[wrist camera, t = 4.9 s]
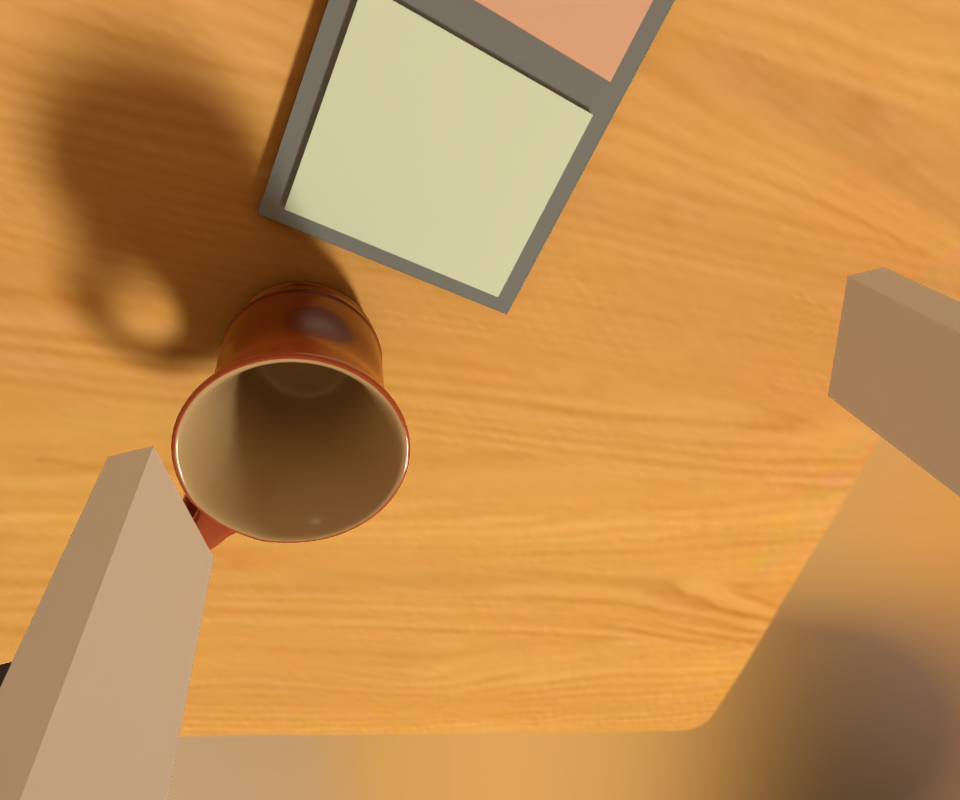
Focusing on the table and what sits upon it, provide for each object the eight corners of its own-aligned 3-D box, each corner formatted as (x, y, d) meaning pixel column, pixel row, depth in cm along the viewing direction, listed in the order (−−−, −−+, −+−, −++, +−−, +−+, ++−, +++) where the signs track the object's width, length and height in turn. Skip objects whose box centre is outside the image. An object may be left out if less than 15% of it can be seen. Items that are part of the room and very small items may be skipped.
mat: (258, 210, 30) (256, 215, 29) (468, -418, 21) (473, -434, 20) (504, 309, 34) (508, 316, 34) (756, -165, 26) (769, -170, 25)
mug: (292, 220, 30) (275, 306, 21) (425, 335, 34) (456, 445, 26) (137, 389, 33) (68, 525, 24) (278, 476, 37) (262, 617, 29)
